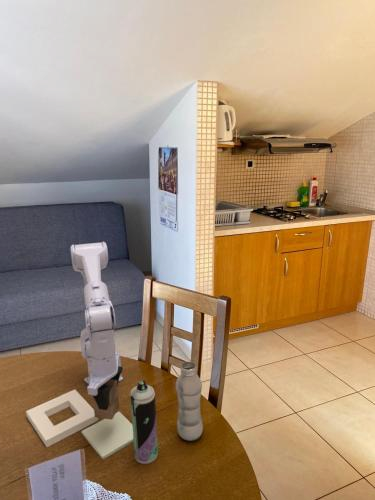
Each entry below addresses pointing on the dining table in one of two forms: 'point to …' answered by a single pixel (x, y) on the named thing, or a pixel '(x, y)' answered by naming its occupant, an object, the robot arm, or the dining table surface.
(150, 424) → the spray can
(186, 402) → the plastic bottle
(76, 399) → the socket board
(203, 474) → the dining table surface
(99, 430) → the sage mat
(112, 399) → the walnut block
